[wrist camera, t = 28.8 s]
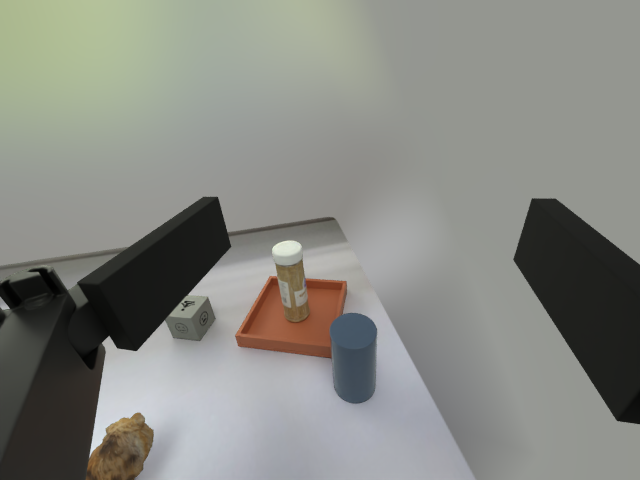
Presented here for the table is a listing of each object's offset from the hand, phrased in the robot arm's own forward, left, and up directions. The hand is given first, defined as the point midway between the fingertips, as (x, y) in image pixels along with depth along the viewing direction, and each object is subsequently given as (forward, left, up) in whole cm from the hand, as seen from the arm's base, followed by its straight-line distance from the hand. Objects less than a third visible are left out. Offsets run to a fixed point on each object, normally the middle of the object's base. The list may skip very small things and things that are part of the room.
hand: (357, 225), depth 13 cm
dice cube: (+30, -19, -30) cm, 46 cm away
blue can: (+2, -13, -30) cm, 33 cm away
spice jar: (+13, -24, -30) cm, 40 cm away
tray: (+13, -24, -30) cm, 40 cm away
